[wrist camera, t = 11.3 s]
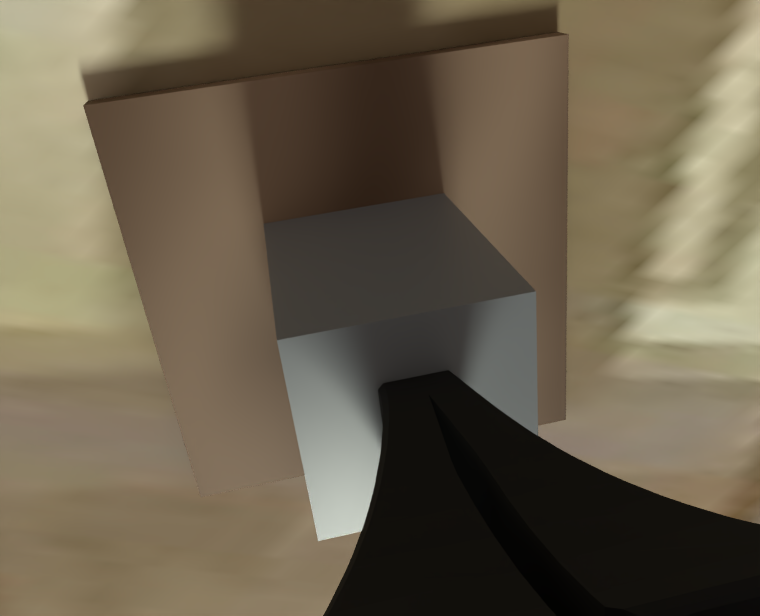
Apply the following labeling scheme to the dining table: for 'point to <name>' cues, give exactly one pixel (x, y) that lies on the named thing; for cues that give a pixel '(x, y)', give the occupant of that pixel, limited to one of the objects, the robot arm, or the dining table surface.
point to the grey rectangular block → (389, 332)
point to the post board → (324, 195)
